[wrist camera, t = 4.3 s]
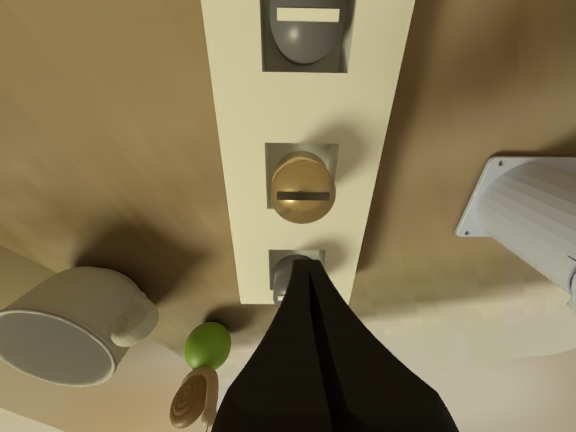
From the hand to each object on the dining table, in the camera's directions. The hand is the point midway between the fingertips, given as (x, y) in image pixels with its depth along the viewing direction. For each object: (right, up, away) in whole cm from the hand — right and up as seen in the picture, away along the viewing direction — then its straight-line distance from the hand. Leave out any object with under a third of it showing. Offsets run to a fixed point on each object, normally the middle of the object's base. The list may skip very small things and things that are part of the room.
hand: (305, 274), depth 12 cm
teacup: (-20, -5, +15) cm, 26 cm away
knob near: (0, +15, +3) cm, 15 cm away
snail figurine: (-10, -11, +19) cm, 24 cm away
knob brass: (0, +6, +5) cm, 7 cm away
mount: (0, +7, +8) cm, 11 cm away
